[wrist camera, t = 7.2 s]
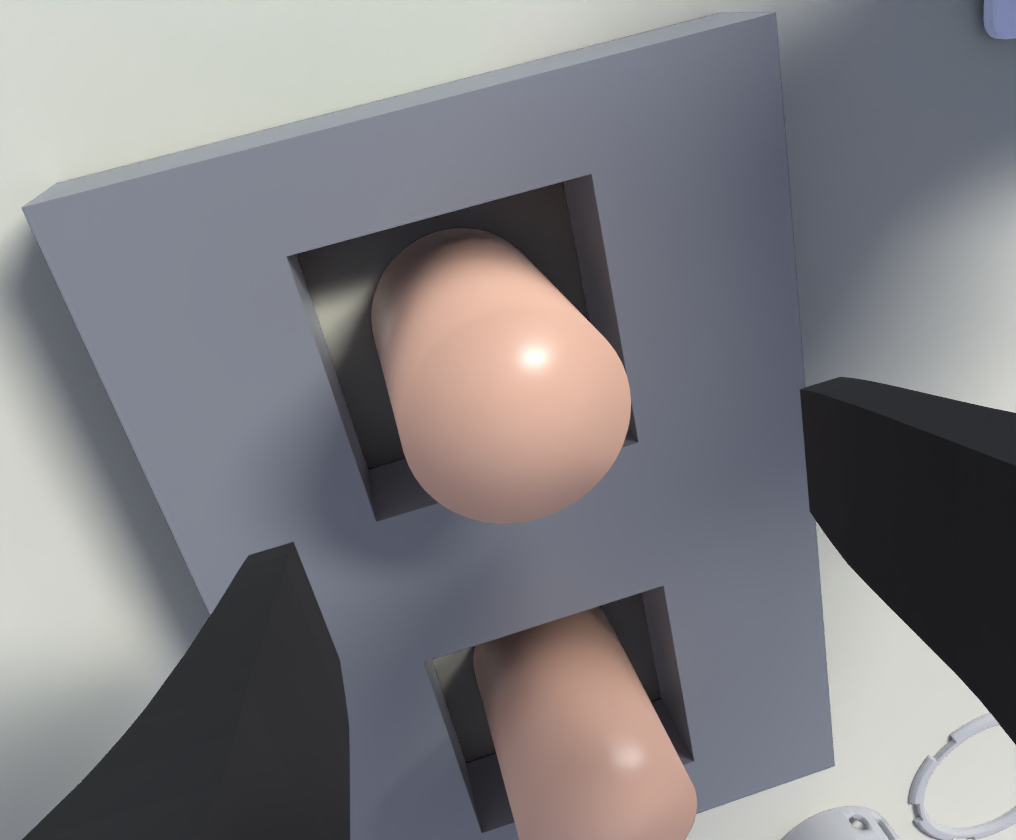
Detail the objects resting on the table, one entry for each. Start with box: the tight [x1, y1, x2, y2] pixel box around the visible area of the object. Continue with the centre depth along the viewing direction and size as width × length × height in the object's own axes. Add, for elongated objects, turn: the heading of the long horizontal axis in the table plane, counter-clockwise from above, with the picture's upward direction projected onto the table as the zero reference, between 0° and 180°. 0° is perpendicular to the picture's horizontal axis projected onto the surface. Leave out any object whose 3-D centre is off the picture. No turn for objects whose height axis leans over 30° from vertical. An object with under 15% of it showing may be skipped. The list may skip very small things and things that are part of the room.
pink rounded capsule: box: [371, 228, 631, 524], centre depth 18 cm, size 4×4×6 cm
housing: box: [22, 13, 835, 840], centre depth 22 cm, size 20×14×2 cm
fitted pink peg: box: [473, 606, 697, 840], centre depth 22 cm, size 4×4×6 cm
